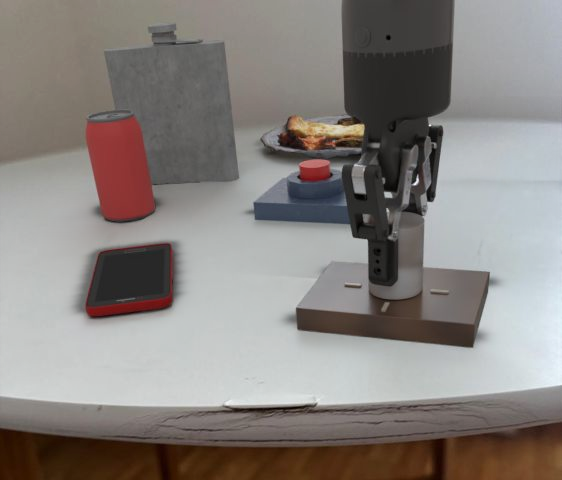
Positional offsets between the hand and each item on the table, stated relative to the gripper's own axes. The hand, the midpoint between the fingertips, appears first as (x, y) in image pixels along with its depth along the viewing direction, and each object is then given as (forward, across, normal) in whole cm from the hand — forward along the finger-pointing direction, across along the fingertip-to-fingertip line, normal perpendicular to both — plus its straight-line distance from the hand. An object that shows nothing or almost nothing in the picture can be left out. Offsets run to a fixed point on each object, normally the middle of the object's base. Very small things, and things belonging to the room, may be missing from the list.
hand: (396, 270), depth 56 cm
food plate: (+4, +51, +31) cm, 60 cm away
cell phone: (+4, -4, +26) cm, 26 cm away
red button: (0, +22, +19) cm, 29 cm away
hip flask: (+4, +28, +44) cm, 52 cm away
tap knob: (+2, 0, 0) cm, 2 cm away
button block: (+4, +22, +19) cm, 29 cm away
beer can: (+4, +13, +41) cm, 43 cm away
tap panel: (+4, 0, 0) cm, 4 cm away
